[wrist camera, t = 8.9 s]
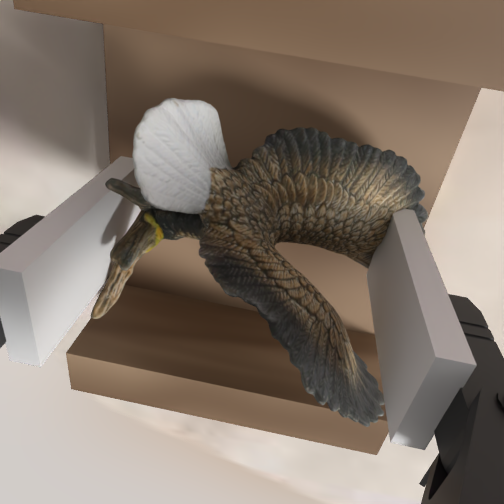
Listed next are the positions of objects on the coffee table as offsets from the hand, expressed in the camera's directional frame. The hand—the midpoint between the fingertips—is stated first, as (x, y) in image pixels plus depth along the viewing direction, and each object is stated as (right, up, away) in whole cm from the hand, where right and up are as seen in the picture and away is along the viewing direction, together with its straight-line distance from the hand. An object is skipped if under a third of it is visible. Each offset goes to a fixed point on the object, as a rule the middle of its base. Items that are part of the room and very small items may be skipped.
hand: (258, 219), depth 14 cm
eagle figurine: (+1, +1, +1) cm, 1 cm away
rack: (0, +1, +2) cm, 3 cm away
